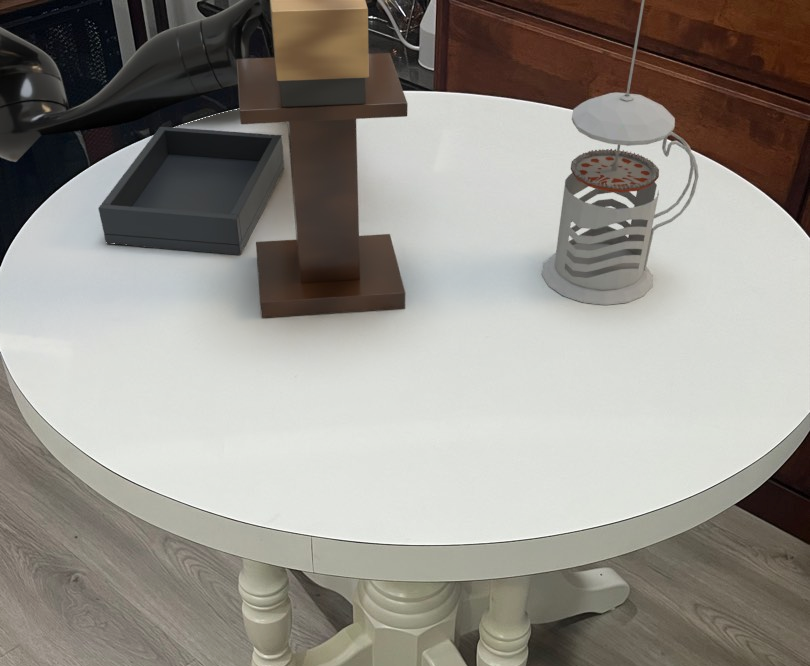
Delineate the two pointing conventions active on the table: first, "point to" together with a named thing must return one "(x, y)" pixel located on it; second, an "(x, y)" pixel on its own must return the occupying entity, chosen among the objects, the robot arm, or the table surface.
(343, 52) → the brush
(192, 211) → the tray
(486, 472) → the table surface
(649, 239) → the french press
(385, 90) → the stand
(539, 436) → the table surface
